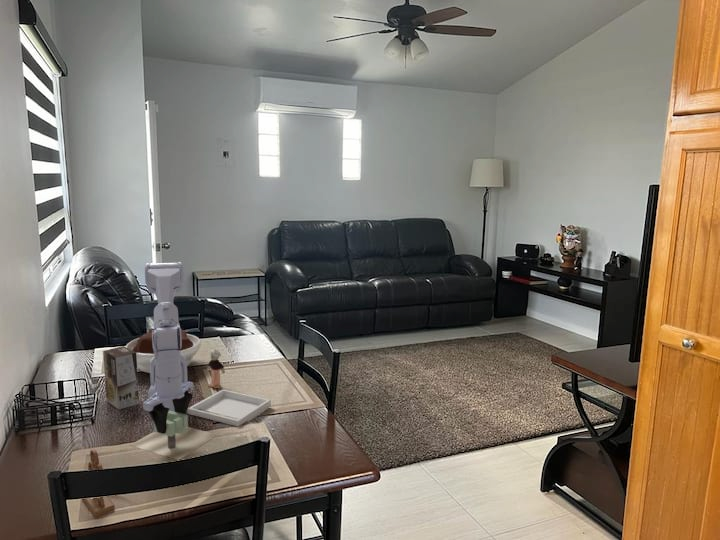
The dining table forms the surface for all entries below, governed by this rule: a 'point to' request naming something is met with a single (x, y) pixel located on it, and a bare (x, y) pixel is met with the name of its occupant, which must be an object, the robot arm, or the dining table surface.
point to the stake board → (181, 442)
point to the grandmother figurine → (215, 369)
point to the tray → (230, 407)
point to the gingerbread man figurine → (103, 503)
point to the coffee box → (121, 377)
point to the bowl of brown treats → (146, 351)
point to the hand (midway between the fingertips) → (171, 427)
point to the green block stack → (175, 423)
